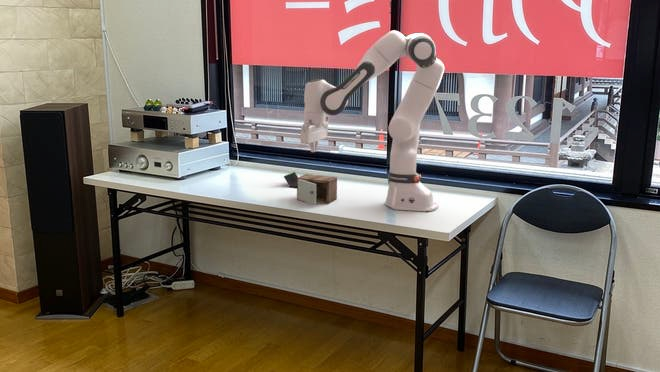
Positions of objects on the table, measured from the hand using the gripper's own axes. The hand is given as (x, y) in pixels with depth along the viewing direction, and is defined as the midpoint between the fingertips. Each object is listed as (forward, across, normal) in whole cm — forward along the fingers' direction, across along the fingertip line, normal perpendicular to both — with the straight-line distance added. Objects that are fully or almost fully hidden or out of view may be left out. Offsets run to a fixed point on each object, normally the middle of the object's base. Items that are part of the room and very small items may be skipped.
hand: (313, 151), depth 267 cm
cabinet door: (+22, -2, +2) cm, 22 cm away
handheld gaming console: (+23, +29, +21) cm, 43 cm away
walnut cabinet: (+22, +7, +1) cm, 24 cm away
